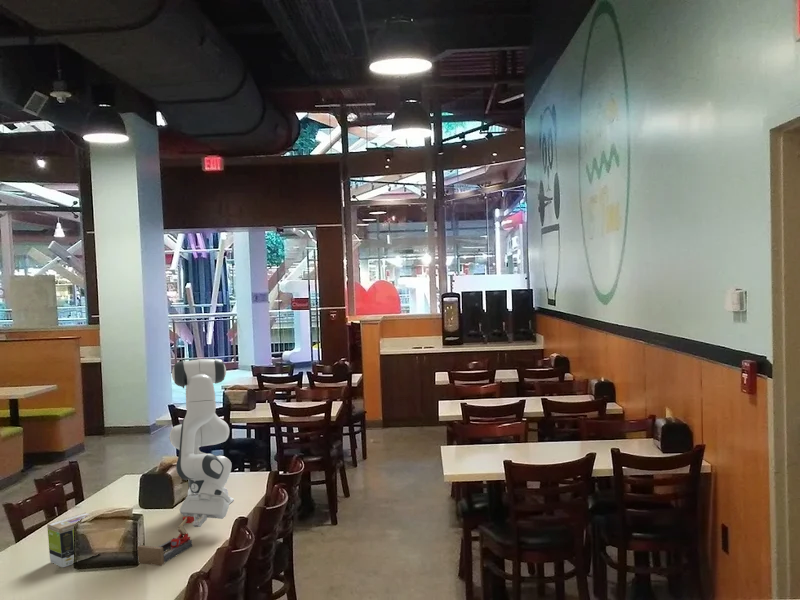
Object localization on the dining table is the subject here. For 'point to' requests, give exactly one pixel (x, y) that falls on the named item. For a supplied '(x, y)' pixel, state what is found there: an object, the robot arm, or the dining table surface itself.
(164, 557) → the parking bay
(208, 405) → the robot arm
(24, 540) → the dining table surface
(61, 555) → the tea box
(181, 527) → the red beige jointed figure
